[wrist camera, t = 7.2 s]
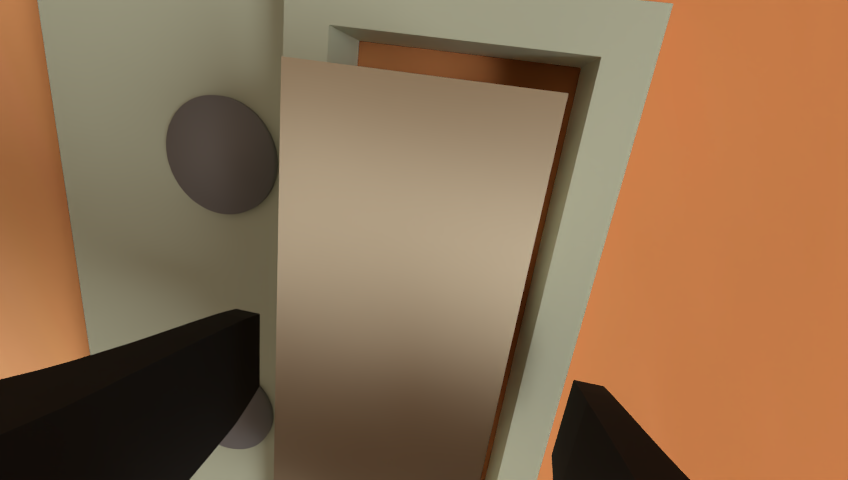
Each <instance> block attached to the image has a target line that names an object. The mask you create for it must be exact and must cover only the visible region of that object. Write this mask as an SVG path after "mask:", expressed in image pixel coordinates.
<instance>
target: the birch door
mask: <svg viewBox="0 0 848 480" xmlns="http://www.w3.org/2000/svg"><path fill="white" fill-rule="evenodd" d="M568 94H569V93H562V92H555V91H547V90H539V89H531V88H524V87H516V86H508V85H500V84H493V83H485V82H477V81H469V80H462V79H454V78H446V77H438V76H431V75H423V74H415V73H407V72H400V71H392V70H384V69H376V68H369V67H361V66H353V65H345V64H338V63H330V62H322V61H314V60H307V59H299V58H291V57H283V56H281V97H280V153H279V208H278V264H277V320H276V375H275V431H274V480H480V478H481V474H482V470H483V465H484V461H485V457H486V452H487V448H488V443H489V439H490V435H491V430H492V426H493V422H494V417H495V413H496V408H497V404H498V400H499V395H500V391H501V387H502V382H503V378H504V373H505V369H506V365H507V360H508V356H509V352H510V347H511V343H512V339H513V334H514V330H515V325H516V321H517V317H518V312H519V308H520V304H521V299H522V295H523V290H524V286H525V282H526V277H527V273H528V269H529V264H530V260H531V255H532V251H533V247H534V242H535V238H536V234H537V229H538V225H539V220H540V216H541V212H542V207H543V203H544V199H545V194H546V190H547V186H548V181H549V177H550V172H551V168H552V164H553V159H554V155H555V151H556V146H557V142H558V137H559V133H560V129H561V124H562V120H563V116H564V111H565V107H566V102H567V98H568Z"/></svg>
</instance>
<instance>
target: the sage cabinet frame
mask: <svg viewBox="0 0 848 480" xmlns="http://www.w3.org/2000/svg"><path fill="white" fill-rule="evenodd" d="M37 1H38V8H39V15H40V21H41V28H42V35H43V41H44V48H45V55H46V62H47V68H48V75H49V82H50V88H51V95H52V102H53V108H54V115H55V122H56V128H57V135H58V142H59V149H60V155H61V162H62V169H63V175H64V182H65V189H66V195H67V202H68V209H69V215H70V222H71V229H72V236H73V242H74V249H75V256H76V262H77V269H78V276H79V282H80V289H81V296H82V302H83V309H84V316H85V323H86V329H87V336H88V343H89V349H90V355H93V354H96V353H99V352H103V351H106V350H109V349H112V348H115V347H119V346H122V345H125V344H128V343H131V342H135V341H138V340H141V339H144V338H146V337H149V336H152V335H155V334H158V333H161V332H164V331H167V330H170V329H173V328H176V327H179V326H182V325H185V324H187V323H190V322H193V321H196V320H199V319H202V318H205V317H208V316H211V315H215V314H218V313H221V312H225V311H229V310H233V309H240V310H245V311H249V312H254V313H259V314H260V387H259V388H258V390H257V391H256V393H255V395H254V396H253V398H252V400H251V401H250V403H249V404H248V406H247V408H246V409H245V411H244V412H243V414H242V415H241V417H240V418H239V420H238V421H237V423H236V424H235V425H234V427H233V428H232V429H231V430H230V432H229V433H228V434H227V435H226V437H225V438H224V439H223V440H222V441H221V443H220V444H219V445H218V446H217V448H216V449H215V450H214V451H213V452H212V454H211V455H210V456H209V457H208V458H207V460H206V461H205V462H204V463H203V464H202V466H201V467H200V468H199V469H198V470H197V471H196V473H195V474H194V475H193V476H192V477H191V479H190V480H274V431H275V375H276V320H277V264H278V208H279V153H280V97H281V56H283V57H291V58H299V59H307V60H314V61H322V62H330V63H338V64H345V65H353V66H358V52H359V41H365V42H373V43H381V44H390V45H398V46H406V47H414V48H422V49H431V50H439V51H447V52H455V53H464V54H472V55H480V56H488V57H497V58H505V59H513V60H521V61H529V62H538V63H546V64H554V65H562V66H571V67H579V68H581V71H580V75H579V79H578V83H577V88H576V92H575V96H574V101H573V105H572V109H571V113H570V118H569V122H568V126H567V131H566V135H565V139H564V143H563V148H562V152H561V156H560V160H559V165H558V169H557V173H556V178H555V182H554V186H553V190H552V195H551V199H550V203H549V208H548V212H547V216H546V220H545V225H544V229H543V233H542V238H541V242H540V246H539V250H538V255H537V259H536V263H535V267H534V272H533V276H532V280H531V285H530V289H529V293H528V297H527V302H526V306H525V310H524V315H523V319H522V323H521V327H520V332H519V336H518V340H517V345H516V349H515V353H514V357H513V362H512V366H511V370H510V375H509V379H508V383H507V387H506V392H505V396H504V400H503V404H502V409H501V413H500V417H499V422H498V426H497V430H496V434H495V439H494V443H493V447H492V452H491V456H490V460H489V464H488V469H487V473H486V477H485V480H537V477H538V474H539V470H540V467H541V463H542V460H543V456H544V453H545V449H546V446H547V442H548V439H549V435H550V432H551V428H552V425H553V421H554V418H555V414H556V411H557V407H558V404H559V401H560V397H561V394H562V390H563V387H564V383H565V380H566V376H567V373H568V369H569V366H570V362H571V359H572V355H573V352H574V348H575V345H576V341H577V338H578V334H579V331H580V327H581V324H582V320H583V317H584V313H585V310H586V306H587V303H588V299H589V296H590V292H591V289H592V285H593V282H594V278H595V275H596V271H597V268H598V264H599V261H600V257H601V254H602V250H603V247H604V243H605V240H606V236H607V233H608V229H609V226H610V223H611V219H612V216H613V212H614V209H615V205H616V202H617V198H618V195H619V191H620V188H621V184H622V181H623V177H624V174H625V170H626V167H627V163H628V160H629V156H630V153H631V149H632V146H633V142H634V139H635V135H636V132H637V128H638V125H639V121H640V118H641V114H642V111H643V107H644V104H645V100H646V97H647V93H648V90H649V86H650V83H651V79H652V76H653V72H654V69H655V65H656V62H657V58H658V55H659V51H660V48H661V44H662V41H663V38H664V34H665V31H666V27H667V24H668V20H669V17H670V13H671V10H672V6H673V4H671V3H661V2H651V1H641V0H37Z"/></svg>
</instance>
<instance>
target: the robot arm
mask: <svg viewBox="0 0 848 480" xmlns="http://www.w3.org/2000/svg"><path fill="white" fill-rule="evenodd" d="M259 387H260V314H259V313H254V312H249V311H245V310H240V309H233V310H229V311H225V312H221V313H218V314H215V315H211V316H208V317H205V318H202V319H199V320H196V321H193V322H190V323H187V324H185V325H182V326H179V327H176V328H173V329H170V330H167V331H164V332H161V333H158V334H155V335H152V336H149V337H146V338H144V339H141V340H138V341H135V342H131V343H128V344H125V345H122V346H119V347H115V348H112V349H109V350H106V351H103V352H99V353H96V354H93V355H90V356H86V357H83V358H80V359H77V360H74V361H70V362H67V363H63V364H59V365H56V366H52V367H48V368H45V369H41V370H37V371H33V372H29V373H25V374H21V375H17V376H13V377H9V378H5V379H1V380H0V480H190V479H191V477H192V476H193V475H194V474H195V473H196V471H197V470H198V469H199V468H200V467H201V466H202V464H203V463H204V462H205V461H206V460H207V458H208V457H209V456H210V455H211V454H212V452H213V451H214V450H215V449H216V448H217V446H218V445H219V444H220V443H221V441H222V440H223V439H224V438H225V437H226V435H227V434H228V433H229V432H230V430H231V429H232V428H233V427H234V425H235V424H236V423H237V421H238V420H239V418H240V417H241V415H242V414H243V412H244V411H245V409H246V408H247V406H248V404H249V403H250V401H251V400H252V398H253V396H254V395H255V393H256V391H257V390H258V388H259ZM552 468H553V480H690V479H689V478H688V477H687V476H686V475H685V474H684V473H683V472H682V471H681V470H680V469H679V468H678V467H677V466H676V465H675V464H674V462H673V461H672V460H671V459H670V458H669V457H668V456H667V455H666V454H665V453H664V452H663V451H662V450H661V449H660V447H659V446H658V445H657V444H656V443H655V442H654V441H653V440H652V439H651V438H650V436H649V435H648V434H647V433H646V432H645V431H644V430H643V429H642V428H641V426H640V425H639V424H638V423H637V422H636V421H635V420H634V419H633V418H632V416H631V415H630V414H629V413H628V412H627V411H626V410H625V409H624V408H623V407H622V405H621V404H620V403H619V402H618V401H617V400H616V399H615V398H614V397H613V396H612V395H611V394H610V392H609V391H608V390H607V389H606V388H605V387H604V386H600V385H595V384H590V383H585V382H581V381H576V380H574V381H573V384H572V388H571V391H570V395H569V398H568V401H567V405H566V408H565V412H564V415H563V418H562V422H561V425H560V429H559V432H558V435H557V439H556V442H555V446H554V449H553V452H552Z"/></svg>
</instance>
